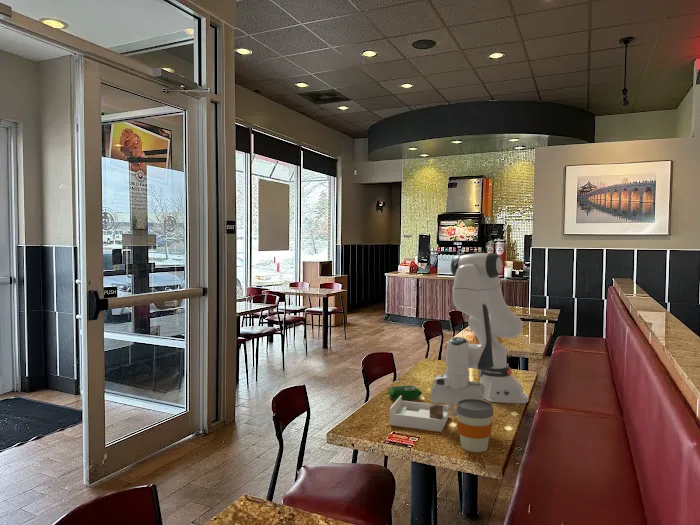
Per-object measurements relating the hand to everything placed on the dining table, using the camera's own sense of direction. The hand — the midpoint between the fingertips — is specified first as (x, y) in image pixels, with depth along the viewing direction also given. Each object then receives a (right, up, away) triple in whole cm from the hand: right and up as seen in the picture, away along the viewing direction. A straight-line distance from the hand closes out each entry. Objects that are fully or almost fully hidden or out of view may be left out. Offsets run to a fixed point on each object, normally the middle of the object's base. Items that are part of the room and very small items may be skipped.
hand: (456, 415), depth 198 cm
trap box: (-13, -4, +5) cm, 15 cm away
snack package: (-16, -3, +34) cm, 38 cm away
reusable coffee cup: (+2, -5, -20) cm, 21 cm away
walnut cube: (-7, -1, +3) cm, 8 cm away
